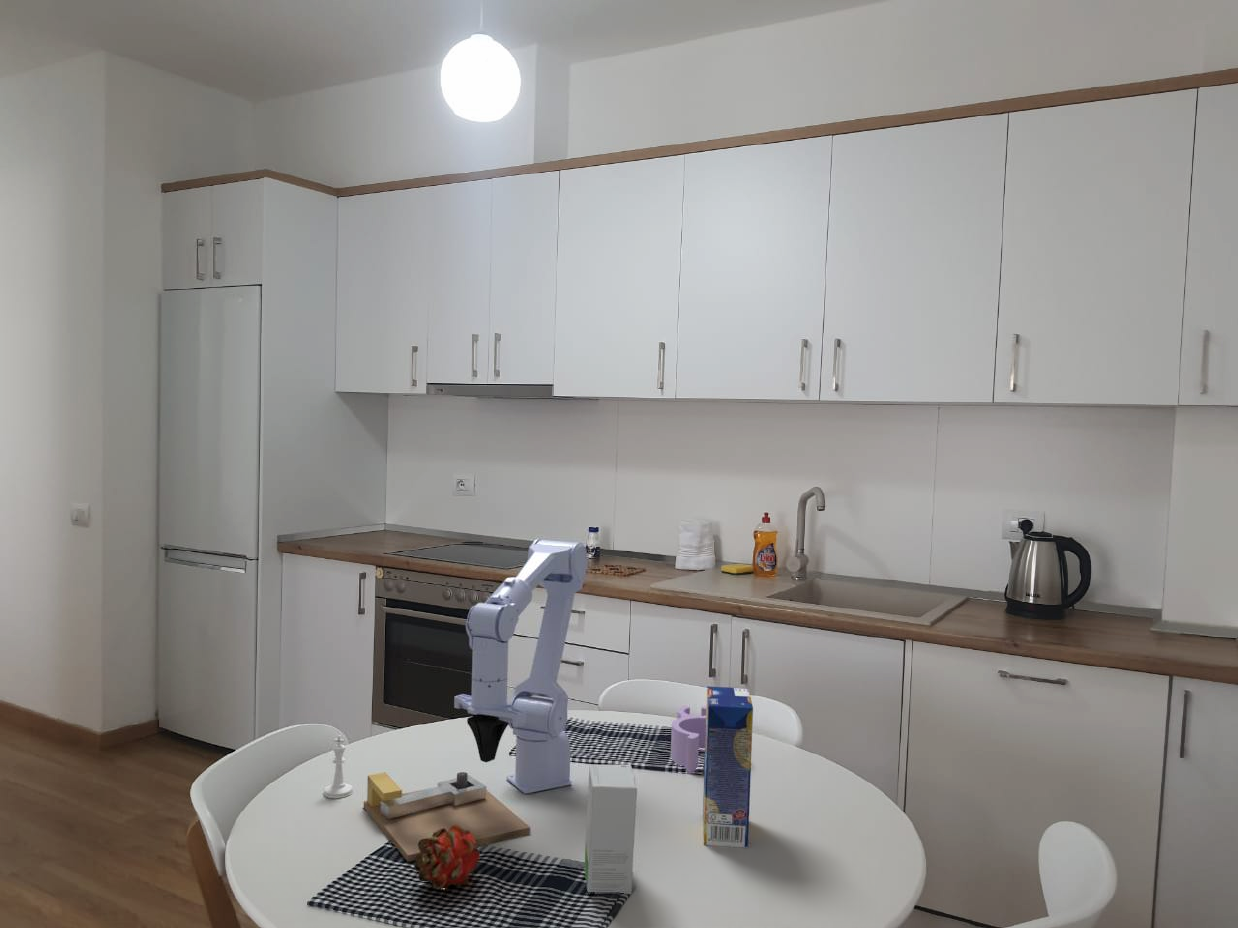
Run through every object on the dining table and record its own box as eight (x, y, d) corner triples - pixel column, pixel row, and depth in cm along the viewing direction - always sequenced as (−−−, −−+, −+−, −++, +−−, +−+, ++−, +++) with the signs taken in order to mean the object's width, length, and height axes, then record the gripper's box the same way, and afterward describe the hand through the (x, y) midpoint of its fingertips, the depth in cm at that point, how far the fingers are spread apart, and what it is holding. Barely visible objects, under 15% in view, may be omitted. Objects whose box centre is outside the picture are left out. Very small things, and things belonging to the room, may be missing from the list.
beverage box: (743, 817, 154) (748, 688, 154) (748, 847, 143) (753, 708, 143) (702, 815, 155) (707, 686, 154) (703, 844, 144) (708, 705, 143)
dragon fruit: (422, 915, 124) (456, 886, 136) (473, 884, 123) (503, 857, 135) (392, 858, 126) (428, 833, 137) (442, 826, 125) (474, 804, 136)
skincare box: (584, 867, 136) (587, 762, 135) (629, 866, 136) (632, 762, 135) (587, 896, 127) (590, 785, 127) (634, 895, 128) (638, 785, 127)
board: (474, 785, 165) (475, 757, 165) (530, 833, 146) (531, 802, 146) (363, 807, 154) (364, 777, 154) (407, 861, 136) (408, 828, 135)
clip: (664, 738, 193) (665, 705, 193) (723, 739, 194) (724, 706, 194) (674, 774, 173) (676, 738, 173) (740, 775, 174) (741, 738, 174)
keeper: (384, 797, 156) (385, 772, 156) (401, 816, 149) (402, 789, 148) (367, 801, 154) (367, 775, 154) (383, 820, 147) (383, 793, 147)
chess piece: (344, 799, 157) (345, 741, 157) (317, 796, 158) (319, 738, 158) (358, 788, 162) (359, 732, 161) (332, 785, 163) (333, 729, 162)
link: (468, 786, 161) (468, 775, 161) (486, 797, 157) (486, 786, 156) (376, 809, 151) (376, 797, 150) (392, 822, 146) (393, 810, 146)
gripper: (440, 673, 151) (439, 755, 152) (503, 691, 142) (501, 778, 143) (472, 665, 157) (470, 744, 157) (535, 682, 148) (533, 765, 148)
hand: (487, 759), depth 150 cm, fingers closed
